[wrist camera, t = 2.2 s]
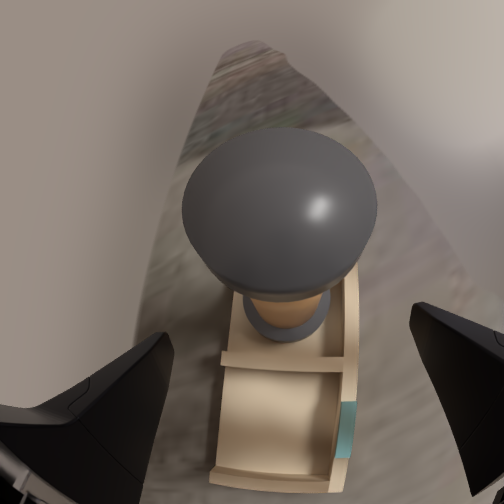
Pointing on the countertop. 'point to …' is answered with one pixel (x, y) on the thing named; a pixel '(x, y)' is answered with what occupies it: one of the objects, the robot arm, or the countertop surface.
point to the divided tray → (290, 402)
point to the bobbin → (280, 223)
